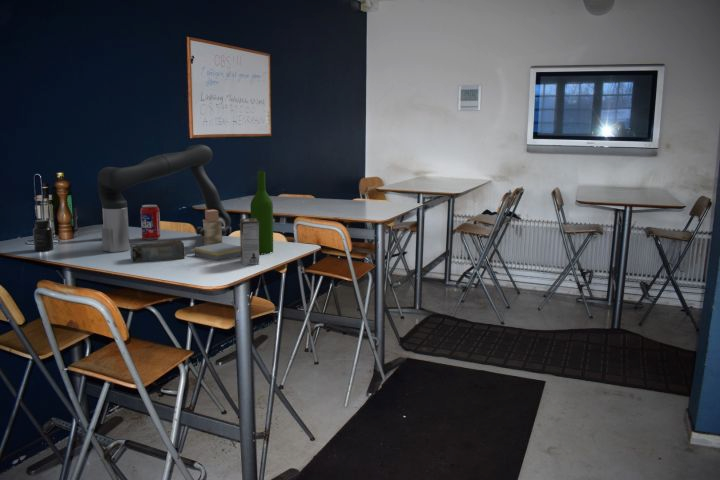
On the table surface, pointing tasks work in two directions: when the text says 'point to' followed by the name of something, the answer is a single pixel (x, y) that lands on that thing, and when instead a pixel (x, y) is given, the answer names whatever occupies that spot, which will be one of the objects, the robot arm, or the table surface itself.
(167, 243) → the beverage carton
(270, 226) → the wine bottle
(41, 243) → the supplement bottle
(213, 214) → the cube
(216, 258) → the dock
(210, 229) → the wooden block
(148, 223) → the soda can
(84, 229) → the table surface
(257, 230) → the coffee box
